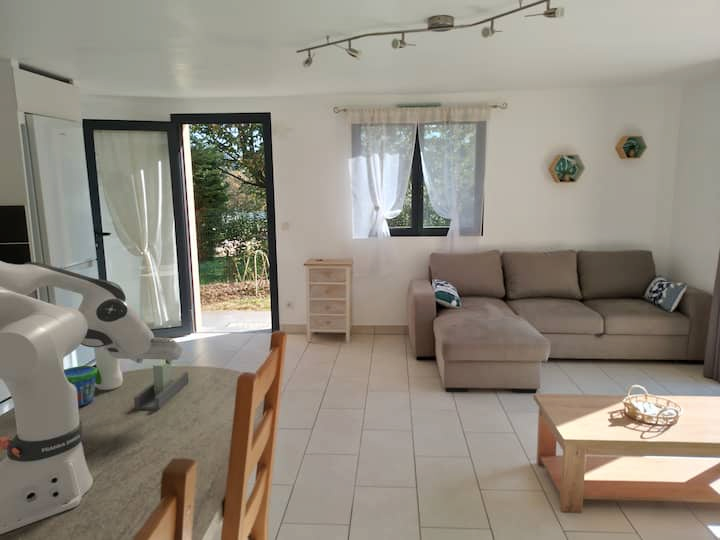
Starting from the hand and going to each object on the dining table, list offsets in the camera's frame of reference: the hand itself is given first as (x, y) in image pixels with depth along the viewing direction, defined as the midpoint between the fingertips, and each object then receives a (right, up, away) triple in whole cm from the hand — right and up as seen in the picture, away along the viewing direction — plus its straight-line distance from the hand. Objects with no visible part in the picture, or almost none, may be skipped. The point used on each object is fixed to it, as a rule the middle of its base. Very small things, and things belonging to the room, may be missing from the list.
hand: (155, 361), depth 146 cm
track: (-1, -12, +8) cm, 15 cm away
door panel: (-1, -12, +8) cm, 14 cm away
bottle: (-22, -11, +15) cm, 29 cm away
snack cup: (-24, -13, +2) cm, 28 cm away
